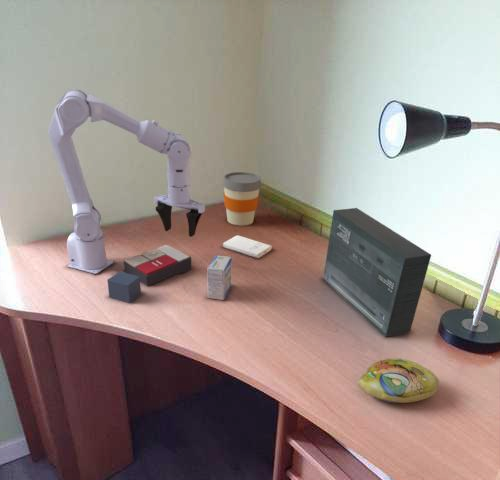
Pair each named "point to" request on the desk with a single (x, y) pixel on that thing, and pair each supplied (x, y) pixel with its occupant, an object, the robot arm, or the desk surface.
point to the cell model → (399, 381)
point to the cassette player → (375, 270)
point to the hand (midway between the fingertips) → (179, 232)
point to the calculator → (157, 264)
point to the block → (124, 287)
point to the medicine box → (219, 277)
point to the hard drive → (247, 246)
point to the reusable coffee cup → (241, 197)
